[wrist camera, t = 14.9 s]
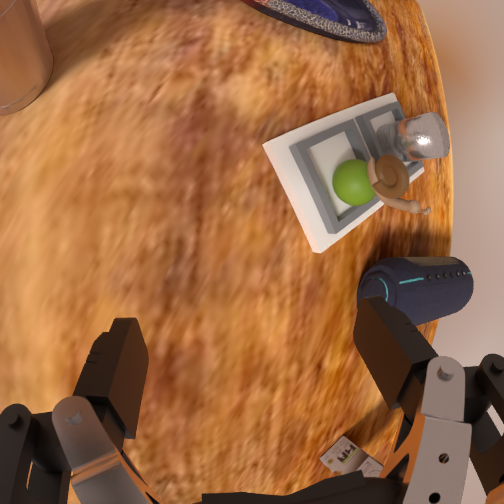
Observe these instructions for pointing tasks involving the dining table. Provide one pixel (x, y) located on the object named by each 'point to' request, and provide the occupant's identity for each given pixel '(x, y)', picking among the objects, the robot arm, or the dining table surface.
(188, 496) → the dining table surface
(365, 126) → the compartment tray
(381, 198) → the snail figurine
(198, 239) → the dining table surface
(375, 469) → the coffee box
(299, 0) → the dish
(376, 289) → the portable speaker
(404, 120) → the silver metal cylinder
